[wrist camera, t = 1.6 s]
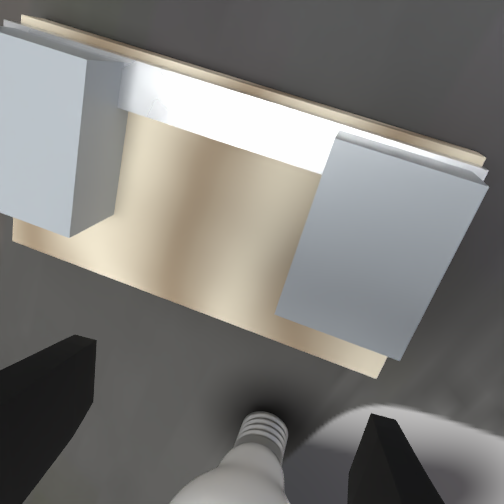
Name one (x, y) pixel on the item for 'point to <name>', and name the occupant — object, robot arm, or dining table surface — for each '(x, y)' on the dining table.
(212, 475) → the lightbulb
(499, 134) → the dining table surface
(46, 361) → the robot arm
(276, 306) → the rail board
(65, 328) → the dining table surface
